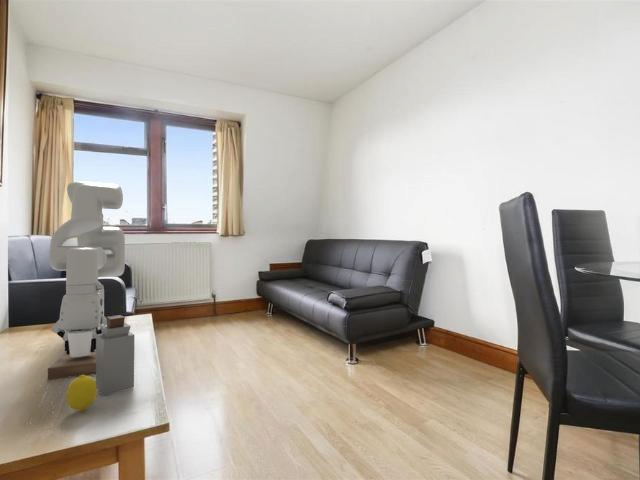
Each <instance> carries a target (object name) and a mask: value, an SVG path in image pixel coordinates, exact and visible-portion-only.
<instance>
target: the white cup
mask: <svg viewBox="0 0 640 480" xmlns="http://www.w3.org/2000/svg"><path fill="white" fill-rule="evenodd" d="M67 333H68V341H69V351H70V357H82V356H87V355H90V354H92V353H93V352H90V349H91V339H93V337H92V335H93V330H90V329H82V330H72V331H71V332H67Z"/></svg>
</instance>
